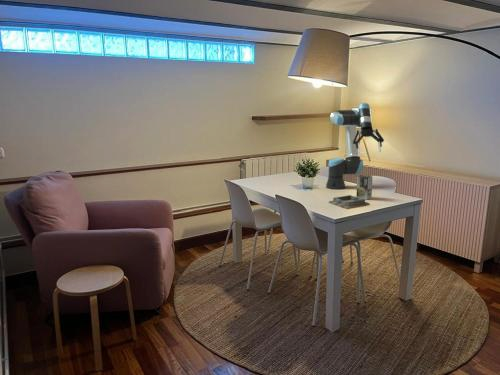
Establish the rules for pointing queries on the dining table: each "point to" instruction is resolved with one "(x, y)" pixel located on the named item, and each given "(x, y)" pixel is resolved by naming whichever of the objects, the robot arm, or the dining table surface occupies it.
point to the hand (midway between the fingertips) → (369, 151)
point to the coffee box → (364, 187)
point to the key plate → (348, 201)
